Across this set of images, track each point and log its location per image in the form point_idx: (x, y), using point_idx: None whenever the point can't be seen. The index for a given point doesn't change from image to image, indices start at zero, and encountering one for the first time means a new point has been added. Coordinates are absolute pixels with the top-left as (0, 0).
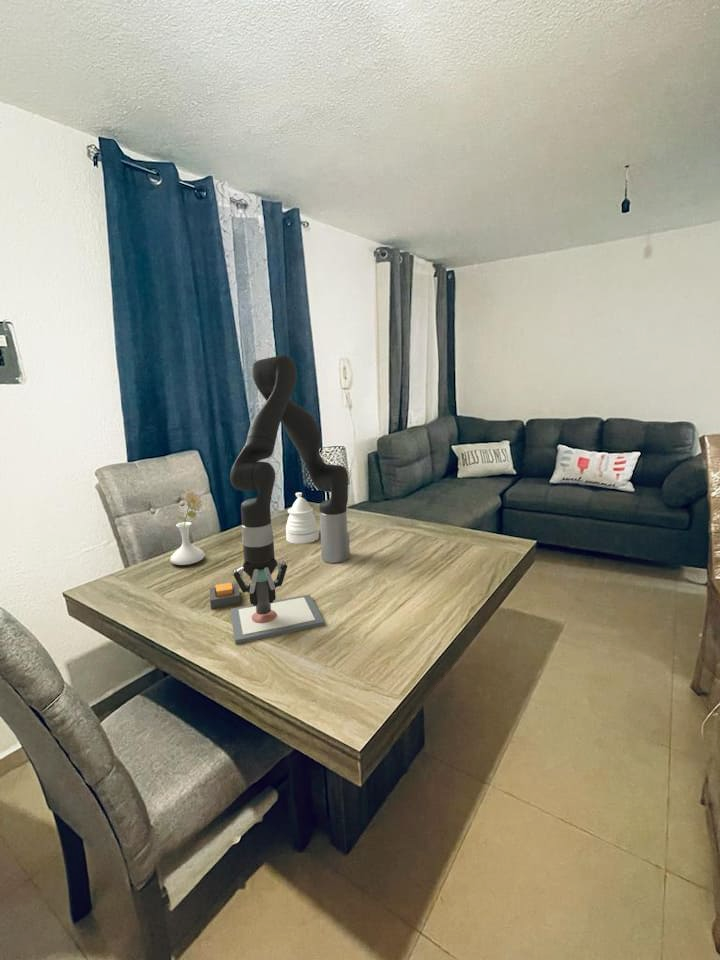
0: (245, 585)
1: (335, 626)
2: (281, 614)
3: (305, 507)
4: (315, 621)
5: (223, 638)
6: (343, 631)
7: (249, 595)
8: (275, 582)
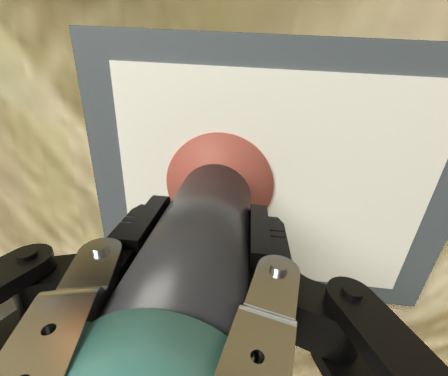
0: (35, 293)
1: (432, 313)
2: (291, 201)
3: None
4: (387, 292)
5: (78, 220)
6: (434, 341)
7: (115, 231)
8: (306, 341)
